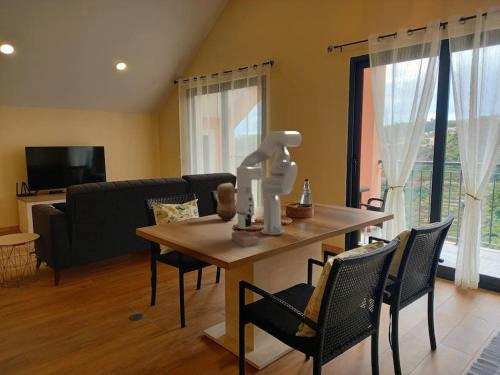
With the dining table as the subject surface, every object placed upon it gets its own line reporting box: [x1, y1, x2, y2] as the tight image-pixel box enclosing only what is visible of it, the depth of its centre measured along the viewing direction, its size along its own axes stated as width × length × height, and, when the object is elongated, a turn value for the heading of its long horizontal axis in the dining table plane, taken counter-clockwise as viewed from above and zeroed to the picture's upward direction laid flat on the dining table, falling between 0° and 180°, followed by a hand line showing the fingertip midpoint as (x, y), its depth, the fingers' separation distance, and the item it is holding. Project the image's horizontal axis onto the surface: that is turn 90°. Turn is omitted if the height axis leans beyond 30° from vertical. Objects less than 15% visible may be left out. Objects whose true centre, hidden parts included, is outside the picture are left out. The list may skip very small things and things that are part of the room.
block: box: [237, 213, 252, 230], centre depth 192 cm, size 5×5×7 cm
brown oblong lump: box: [216, 182, 237, 221], centre depth 250 cm, size 14×13×25 cm
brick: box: [231, 230, 260, 248], centre depth 194 cm, size 17×8×5 cm, turn 26°
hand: (244, 225), depth 193 cm, fingers closed on block, 5 cm apart
